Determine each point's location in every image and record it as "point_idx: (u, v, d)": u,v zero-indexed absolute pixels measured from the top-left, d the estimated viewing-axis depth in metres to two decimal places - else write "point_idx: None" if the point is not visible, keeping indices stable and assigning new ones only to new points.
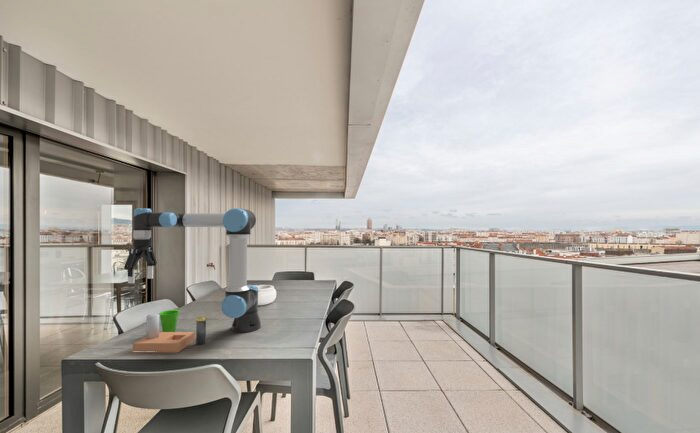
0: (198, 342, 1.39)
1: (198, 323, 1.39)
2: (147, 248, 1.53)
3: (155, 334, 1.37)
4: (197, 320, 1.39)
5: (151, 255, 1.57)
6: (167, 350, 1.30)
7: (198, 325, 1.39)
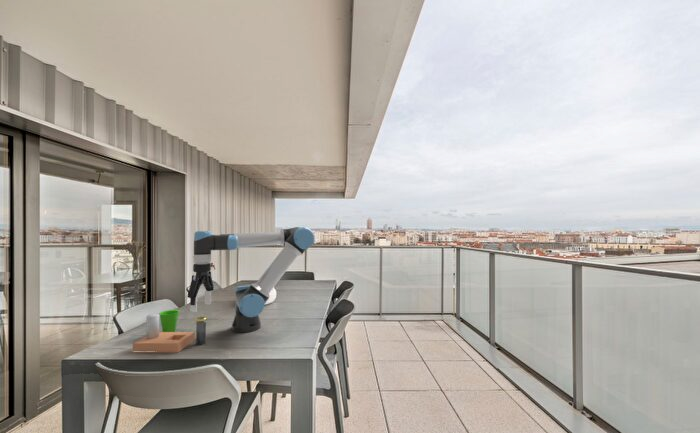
0: (198, 342, 1.39)
1: (198, 323, 1.39)
2: (206, 273, 1.44)
3: (155, 334, 1.37)
4: (197, 320, 1.39)
5: (209, 279, 1.48)
6: (167, 350, 1.30)
7: (198, 325, 1.39)
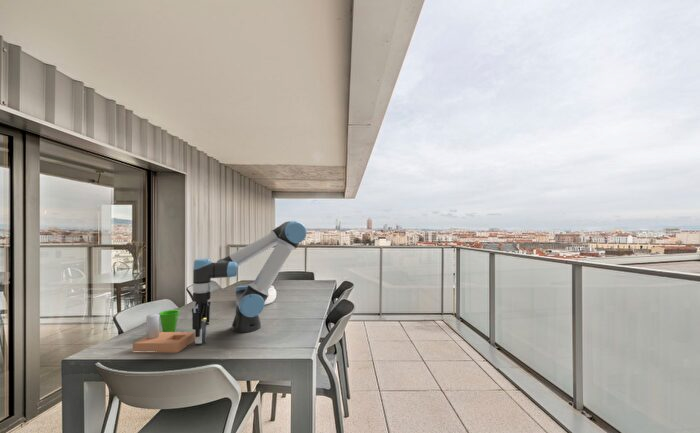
0: None
1: None
2: (206, 300, 1.44)
3: (155, 334, 1.37)
4: None
5: (207, 310, 1.46)
6: (167, 350, 1.30)
7: None
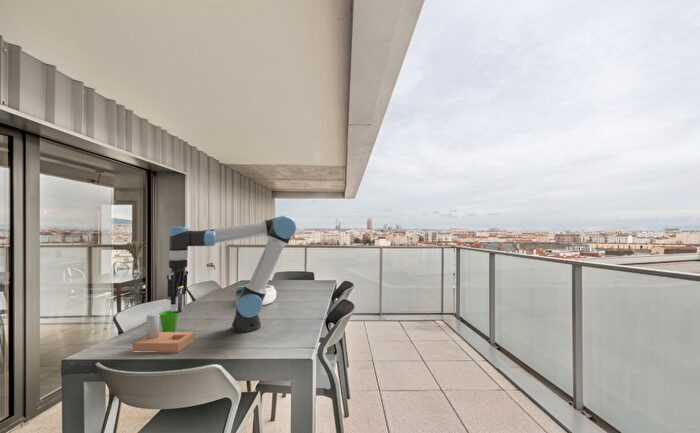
0: None
1: None
2: (183, 269, 1.42)
3: (155, 334, 1.37)
4: None
5: (184, 280, 1.43)
6: (167, 350, 1.30)
7: None
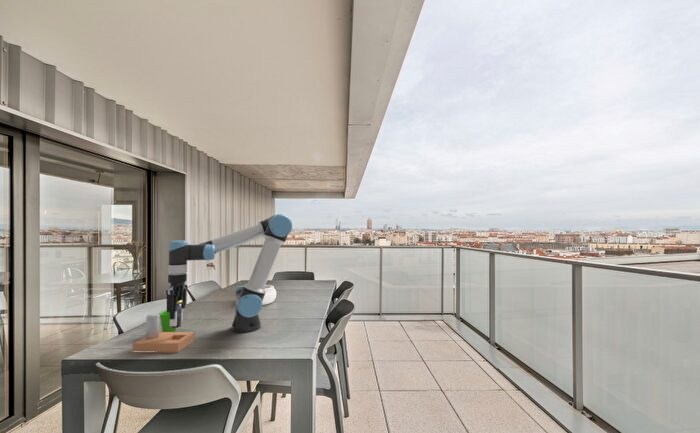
0: None
1: None
2: (183, 283, 1.41)
3: (155, 334, 1.37)
4: None
5: (183, 294, 1.43)
6: (167, 350, 1.30)
7: None
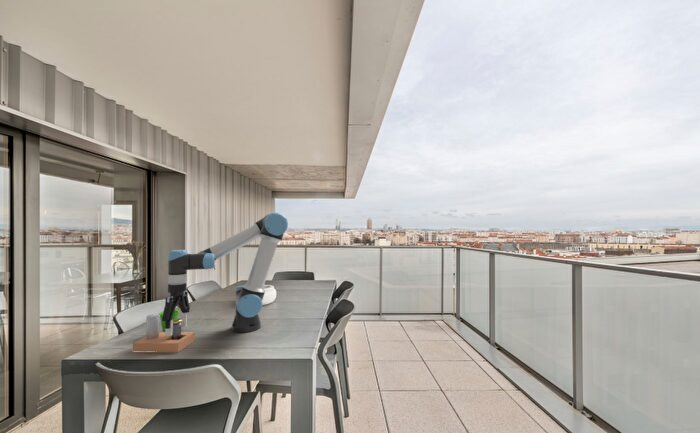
0: None
1: (173, 325, 1.36)
2: (182, 292, 1.41)
3: (155, 334, 1.37)
4: None
5: (185, 300, 1.44)
6: (167, 350, 1.30)
7: (173, 327, 1.36)
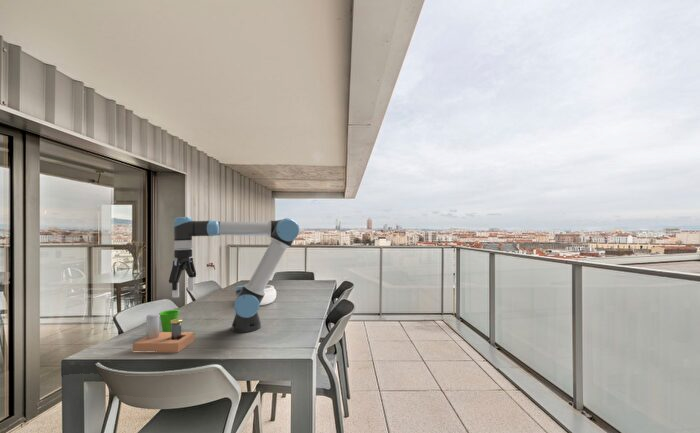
0: None
1: (173, 325, 1.36)
2: (188, 259, 1.44)
3: (155, 334, 1.37)
4: (172, 322, 1.36)
5: (191, 266, 1.48)
6: (167, 350, 1.30)
7: (173, 327, 1.36)
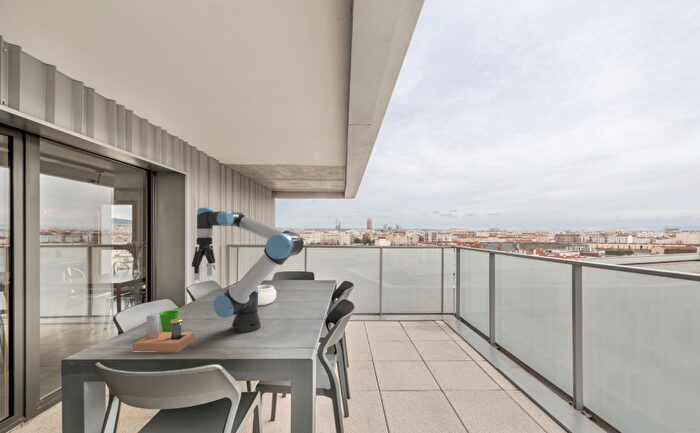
0: None
1: (173, 325, 1.36)
2: (208, 246, 1.59)
3: (155, 334, 1.37)
4: (172, 322, 1.36)
5: (211, 253, 1.63)
6: (167, 350, 1.30)
7: (173, 327, 1.36)
